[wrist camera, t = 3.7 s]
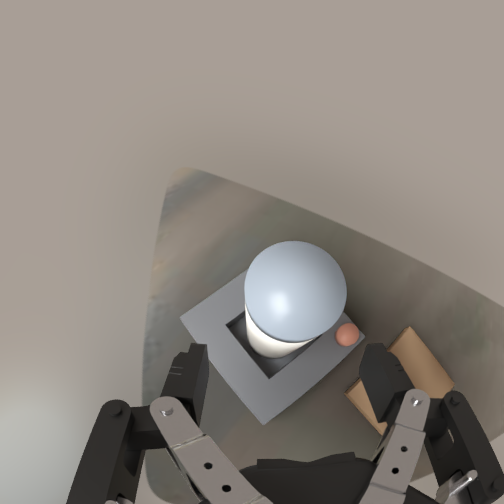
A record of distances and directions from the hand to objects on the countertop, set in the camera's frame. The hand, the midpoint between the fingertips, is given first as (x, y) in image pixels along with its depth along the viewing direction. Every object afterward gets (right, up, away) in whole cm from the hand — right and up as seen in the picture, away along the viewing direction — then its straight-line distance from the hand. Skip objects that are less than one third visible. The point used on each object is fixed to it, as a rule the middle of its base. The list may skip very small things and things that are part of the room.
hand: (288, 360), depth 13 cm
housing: (0, -2, +11) cm, 11 cm away
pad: (+13, -8, +8) cm, 17 cm away
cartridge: (0, -2, +11) cm, 11 cm away
